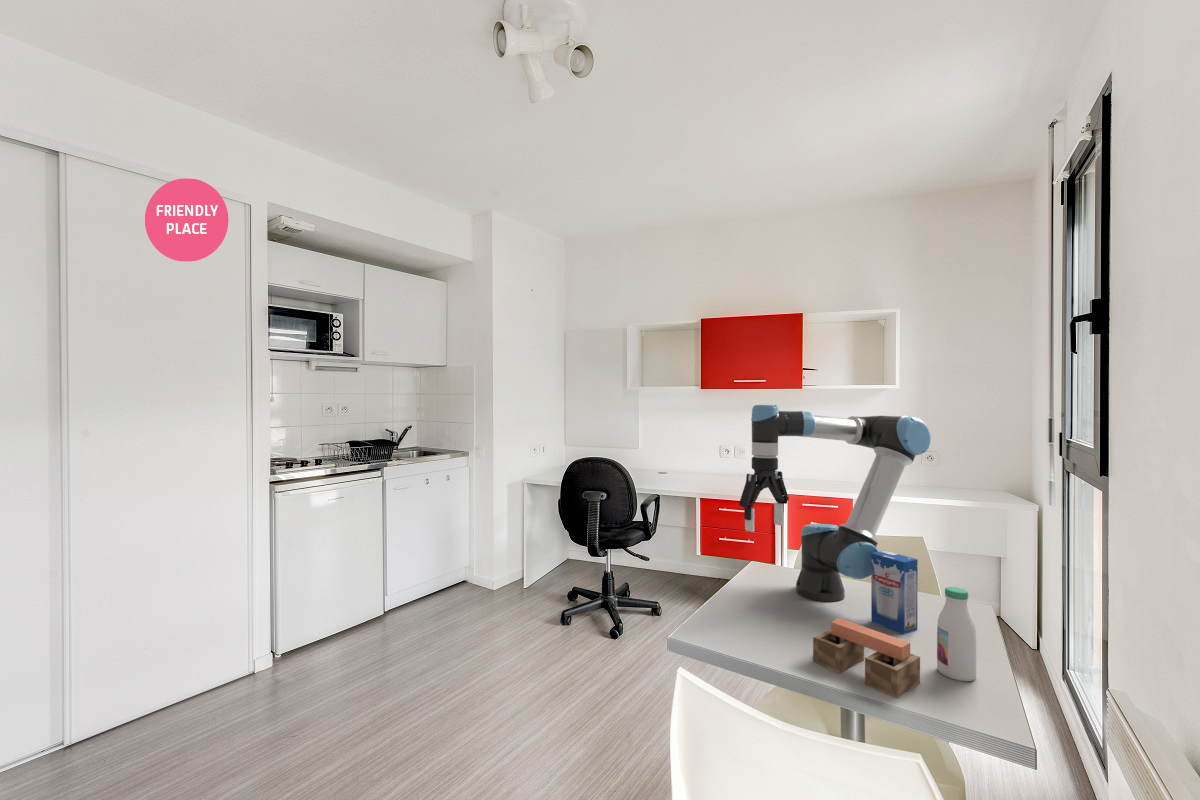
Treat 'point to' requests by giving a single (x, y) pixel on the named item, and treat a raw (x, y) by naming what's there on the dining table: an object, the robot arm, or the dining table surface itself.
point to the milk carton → (894, 591)
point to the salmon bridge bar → (871, 639)
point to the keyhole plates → (867, 664)
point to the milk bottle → (956, 637)
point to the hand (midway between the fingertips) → (764, 527)
